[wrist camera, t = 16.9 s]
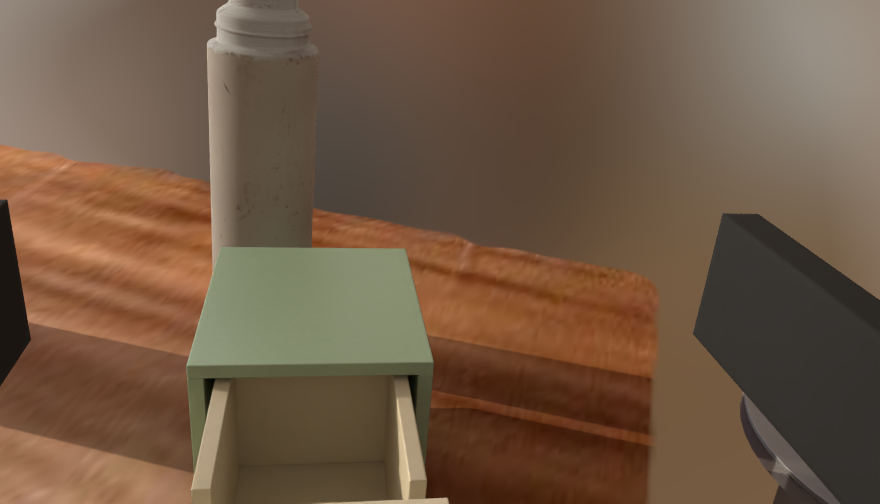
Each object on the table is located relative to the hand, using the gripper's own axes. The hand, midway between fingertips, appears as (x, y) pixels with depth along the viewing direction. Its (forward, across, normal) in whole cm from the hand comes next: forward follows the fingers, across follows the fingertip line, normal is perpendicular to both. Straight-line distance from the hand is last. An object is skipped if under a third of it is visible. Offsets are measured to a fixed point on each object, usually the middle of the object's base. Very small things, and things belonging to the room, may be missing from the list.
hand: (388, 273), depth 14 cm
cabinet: (+28, -1, -26) cm, 38 cm away
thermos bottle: (+45, -6, -26) cm, 53 cm away
